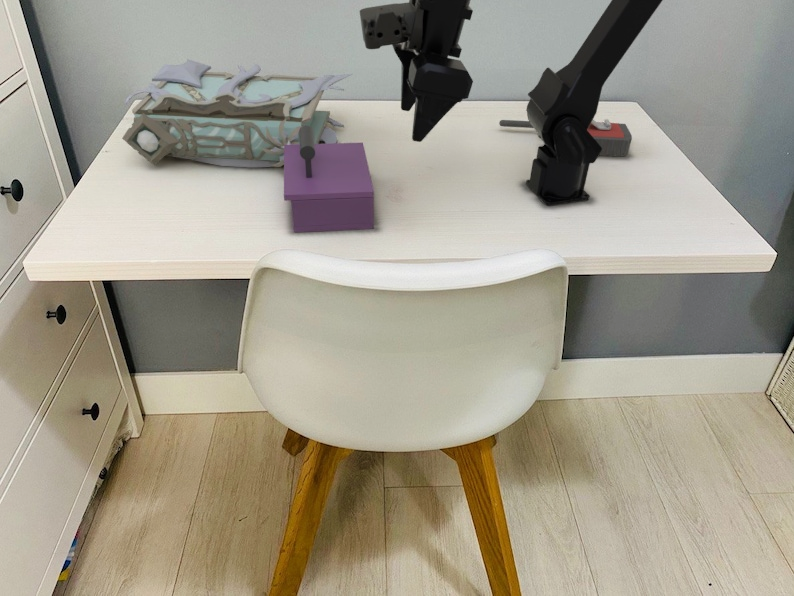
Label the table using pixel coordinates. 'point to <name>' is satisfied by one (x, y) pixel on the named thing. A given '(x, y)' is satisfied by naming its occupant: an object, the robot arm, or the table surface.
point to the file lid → (325, 170)
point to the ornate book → (228, 115)
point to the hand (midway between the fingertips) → (410, 124)
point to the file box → (333, 214)
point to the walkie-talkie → (596, 135)
